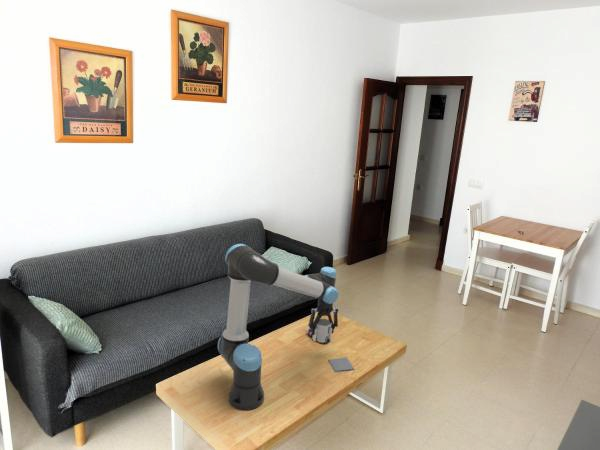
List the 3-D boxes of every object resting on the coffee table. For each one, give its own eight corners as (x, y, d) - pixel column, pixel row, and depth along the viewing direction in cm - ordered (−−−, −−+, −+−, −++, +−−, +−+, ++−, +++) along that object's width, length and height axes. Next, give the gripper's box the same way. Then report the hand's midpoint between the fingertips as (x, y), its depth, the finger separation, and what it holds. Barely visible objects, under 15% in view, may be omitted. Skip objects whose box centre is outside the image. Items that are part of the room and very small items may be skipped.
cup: (328, 345, 218) (330, 327, 216) (312, 342, 219) (314, 324, 217) (330, 337, 226) (332, 319, 223) (315, 335, 227) (316, 317, 225)
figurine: (312, 324, 250) (333, 333, 240) (312, 330, 251) (333, 340, 242) (302, 329, 243) (323, 339, 234) (302, 336, 244) (323, 346, 235)
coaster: (335, 372, 212) (335, 370, 212) (328, 360, 221) (328, 359, 221) (354, 370, 215) (354, 368, 215) (346, 358, 224) (346, 357, 224)
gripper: (308, 302, 211) (304, 344, 216) (347, 300, 216) (343, 341, 222) (304, 295, 218) (300, 337, 223) (342, 293, 223) (337, 334, 229)
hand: (321, 339), depth 223 cm, fingers closed on cup, 8 cm apart
